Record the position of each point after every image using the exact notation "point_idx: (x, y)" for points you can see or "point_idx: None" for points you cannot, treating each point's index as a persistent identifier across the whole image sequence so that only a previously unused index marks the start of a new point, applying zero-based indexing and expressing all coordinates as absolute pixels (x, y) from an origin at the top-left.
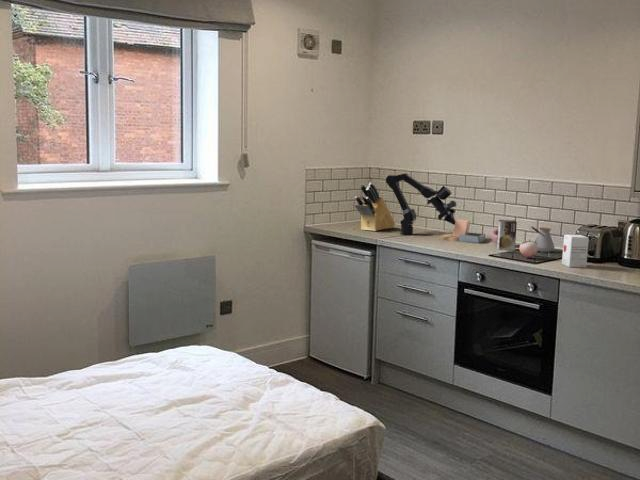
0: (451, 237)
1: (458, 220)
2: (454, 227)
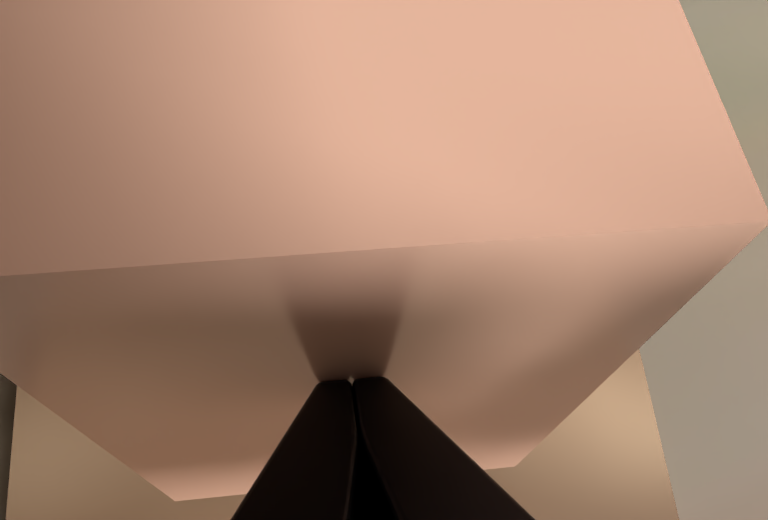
0: (660, 440)
1: (689, 88)
2: (587, 389)
